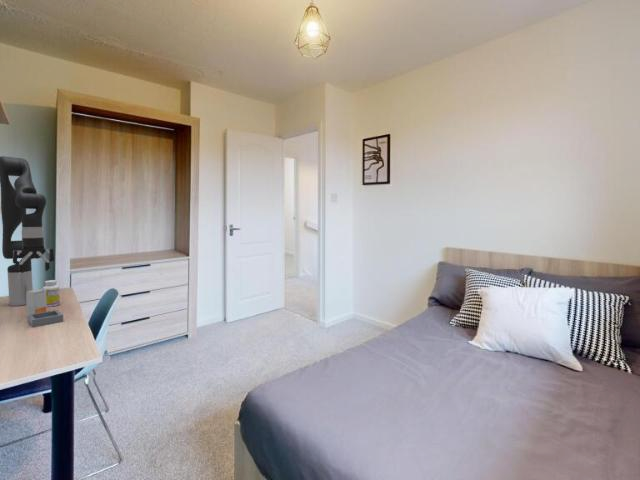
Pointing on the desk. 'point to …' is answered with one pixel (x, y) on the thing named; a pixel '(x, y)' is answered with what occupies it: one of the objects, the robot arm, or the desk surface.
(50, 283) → the supplement bottle
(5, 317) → the desk surface
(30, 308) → the skincare box
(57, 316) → the frame
